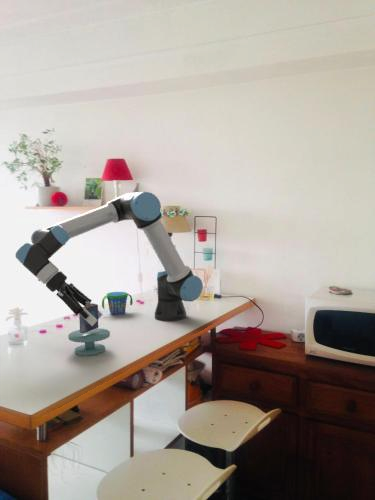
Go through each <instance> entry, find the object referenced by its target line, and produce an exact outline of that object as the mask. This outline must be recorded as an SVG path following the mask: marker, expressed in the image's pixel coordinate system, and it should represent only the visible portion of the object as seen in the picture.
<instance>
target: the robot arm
mask: <svg viewBox="0 0 375 500" xmlns="http://www.w3.org/2000/svg"><path fill="white" fill-rule="evenodd" d="M161 204H162V203H161V202H160V200H159V198H158V196H156V195H155V194H154V193H152V192H149V191H143V190H142V191H137V192H128V193H125V194H122V195H121V196H119V197H115V198H114V199H112V200H110V201H106V204H105V205H102V206H100V207H98V208H95V209H92V210H89V211H87V212H85V213H83V214H82V213H81V214H78V215H77V216H73V217H72V218H69V219H65V220H63V221H61V222H58V223H55V224H53V225H50V226H48V227H46V228H40V229H37V230H35V231H33V232H32V234H31V237H30V240H31V242H30V241H29V242H25V243H24V244H23V245H22V246H20V247H19V248H18V250H17V251H16V252H15V258H16V259H17V260H18V262H20V264H22V266H23V267H24V268H25V269H26V270H28V271H29V272H30V273H31V274H32V275H33V276H35V277H36V278H37V281H38V282H41V283H42V284H43V285H45V287H46V288H47V289H48V290H50V292H52V293H54V292H56V291H57V292H56V294H55V295H56V296H57V297H58V298H59V299H61V300H62V302H64V303H65V305H66V306H67V307H68V308H69V310H71V312H72V313H73V314H74V315H75V316H78V315H79V314H80V315H81V316H82V317H83V318H84V319H85V320H86V321H87V322H88V323H89V324H90V325H91V326H93V325H94V324H95V323H96V322H97V321H98V322H99V319H101V317H102V316H103V315H104V314H103V313H102V312H101V311H100V310H99V309H98V320H97V319H96V318H95V317H94V316H92V315H91V314H90V313H89V312H88V311H87V310H86V309H85V308H84V309H83V308H82V307H85V306H86V301H89V302H90V303H89V304H91V305H92V299H90V298H89V297H88V296H86V295H85V294H84V293H83V292H82V291H81V290H80V289H78V288H77V287H76V286H75V285H74V284H73V283H72V282H70V283H67V282H66V280H67V279H68V277H67V276H66V274H64V273H63V271H59V270H60V269H59V268H58V267H57V266H56V265H55V264H54V263H53V262H52V261H50V259H51V257H53V255H54V254H56V253H57V252H58V251H59V250H60V249H61V248H62V247H63V246H65V245H66V244H67V243H68V242H69V240H71V239H72V238H73V239H74V238H75V237H78V236H80V235H83V234H85V233H88V232H90V231H93V230H95V229H98V228H100V227H103V226H105V225H109V224H110V223H114V224H116V223H118V222H123V221H128V220H129V221H133V222H134V224H135V226H136V227H137V229H139V230H141V231H143V233H144V234H145V236H146V239H147V240H148V241H149V243H150V245H151V248H152V249H153V250H154V253H155V254H156V256H157V258H158V259H159V262H160V263H161V265H162V266H163V269H162V270H159V271H158V272H157V274H156V275H157V277H156V281H157V303H156V307H155V310H154V318H155V319H156V320H158V321H165V322H170V321H180V320H184V319H186V318H187V310H186V308H185V306H184V305H185V304H184V302H189V303H190V302H194V301H196V300H197V299H199V297H201V295H202V292H203V289H204V284H203V281H202V279H201V278H200V277H198V276H197V275H195V274H194V272H193V271H192V270H191V268H190V266H188V265H185V263H184V261H183V259H182V258H181V256H180V254H179V251H177V248H176V247H175V245H174V243H173V241H172V239H171V236H170V235H169V234H168V231H167V229H166V228H165V225H164V224H163V222H162V217H163V215H162V213H161V209H162V205H161Z"/></svg>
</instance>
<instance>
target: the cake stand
mask: <svg viewBox="0 0 375 500" xmlns="http://www.w3.org/2000/svg"><path fill="white" fill-rule="evenodd" d="M110 337H111V331H110V330H109V329H106V328H101V327H100V328H99V327H98V328H96V329H94V330H91V331H88V332H86V333H80V329H78V330H77V329H76V330H74V331H72V332H70V333H68V340H69V341H70V342H72V343H74V342H75V343H83V344H81V345H78V346H76V347H75V348H74V355H77V356H82V357H84V356H85V357H86V356H87V357H90V356H91V357H92V356H97V355H100V354H103V353H105V351H106V346H105V345H103V344H101V343H97V342H100V341H104V340H106V339H108V338H110Z"/></svg>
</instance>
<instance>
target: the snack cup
mask: <svg viewBox="0 0 375 500" xmlns="http://www.w3.org/2000/svg"><path fill="white" fill-rule="evenodd" d="M128 296H129V297H130V302H129V305H130V306H133V303H134V302H133V298H132V295H131V294H129V293H128V292H127V291H126V292H125V291H111V292H107V293H106V295H105V296H104V297H102V299H101V300H102V301H101V307H102V309H103V310H104V309H105V300H106V299H107V303H108V309H109V313H110V314H111V315H113V316H116V315H117V316H119V315H124V314H125V313H126V308H127V300H128Z"/></svg>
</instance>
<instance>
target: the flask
mask: <svg viewBox="0 0 375 500" xmlns="http://www.w3.org/2000/svg"><path fill="white" fill-rule="evenodd" d="M89 303H91V304H92V305H91V304H89ZM82 308H83V309H84V308H85V309H86V310H87V311H88V312H89V313H90V314H91V315H92V316H94V317H95V318H96V319H97V320H98V321H97V322H96V323H95V324H94V325H93V326H91V325H90V324H89V323H88V322H87V321H86V320H85V319H84V318H83V317H82V316H81V315H80V314H78V315H79V320H78V321H79V330H80V333H86V332H88V331H91V330H94V329H96V328H99V319H98V310H99V304H98V303H94V302H93V303H92V302H89V301H86V306H82Z"/></svg>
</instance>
